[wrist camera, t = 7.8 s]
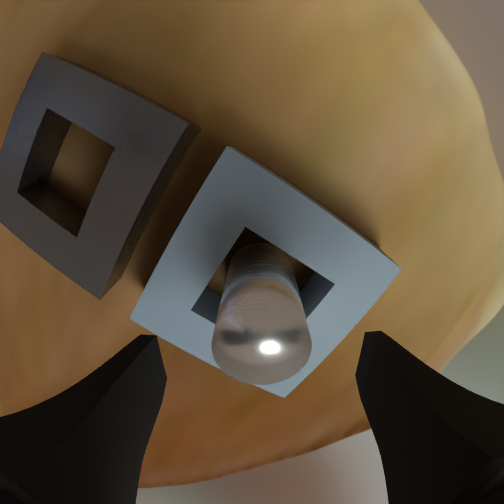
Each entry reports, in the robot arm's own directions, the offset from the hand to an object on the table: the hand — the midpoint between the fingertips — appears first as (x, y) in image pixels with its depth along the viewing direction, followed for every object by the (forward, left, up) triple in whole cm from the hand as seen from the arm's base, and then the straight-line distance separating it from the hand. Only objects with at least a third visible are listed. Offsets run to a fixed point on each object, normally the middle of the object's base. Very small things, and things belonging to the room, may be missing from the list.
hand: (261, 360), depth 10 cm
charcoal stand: (-8, -9, -8) cm, 14 cm away
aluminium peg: (0, 0, -8) cm, 8 cm away
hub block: (0, 0, -8) cm, 8 cm away
